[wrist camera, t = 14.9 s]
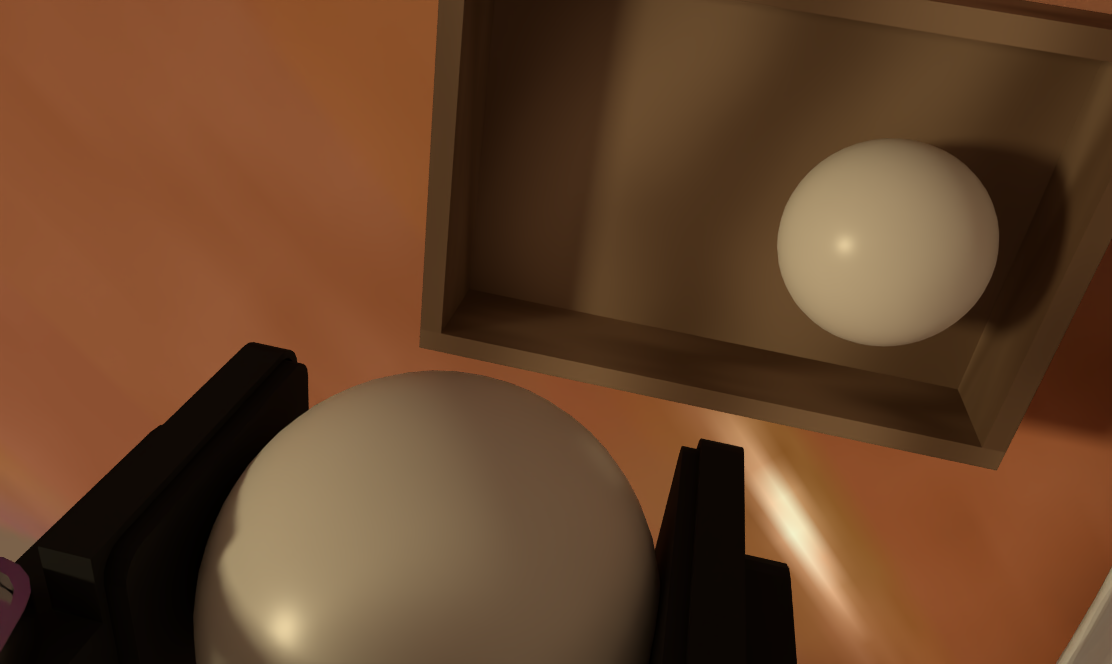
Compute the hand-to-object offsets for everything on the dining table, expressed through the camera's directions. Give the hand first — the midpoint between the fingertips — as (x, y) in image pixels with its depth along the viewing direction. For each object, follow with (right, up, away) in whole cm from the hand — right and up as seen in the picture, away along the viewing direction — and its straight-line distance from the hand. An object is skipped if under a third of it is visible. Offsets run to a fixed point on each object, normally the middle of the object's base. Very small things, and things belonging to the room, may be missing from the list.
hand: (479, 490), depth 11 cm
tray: (+6, +6, +12) cm, 15 cm away
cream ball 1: (0, 0, 0) cm, 1 cm away
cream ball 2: (+10, +5, +12) cm, 16 cm away
